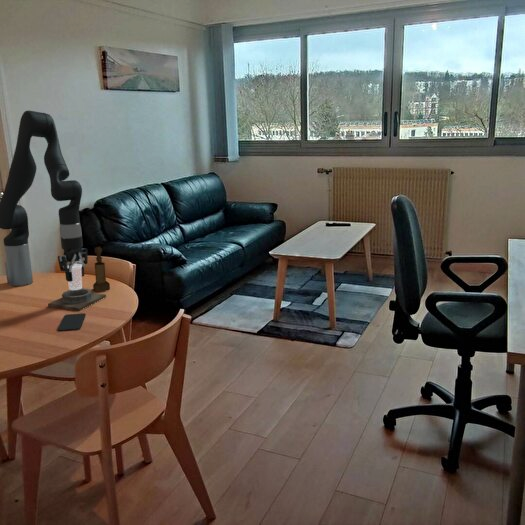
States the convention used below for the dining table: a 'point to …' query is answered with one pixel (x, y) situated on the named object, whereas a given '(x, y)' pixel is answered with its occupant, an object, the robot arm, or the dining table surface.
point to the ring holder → (76, 299)
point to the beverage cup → (76, 277)
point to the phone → (71, 322)
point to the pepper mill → (100, 273)
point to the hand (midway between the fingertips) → (75, 278)
